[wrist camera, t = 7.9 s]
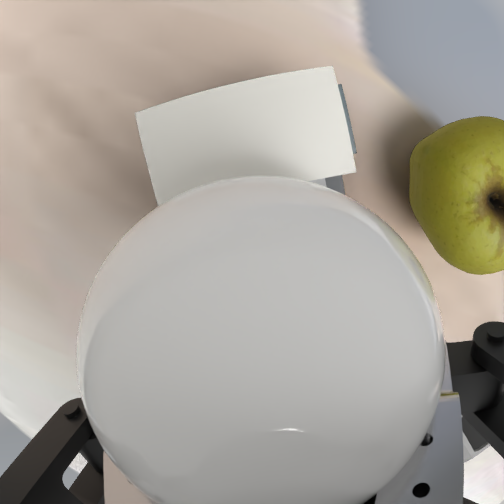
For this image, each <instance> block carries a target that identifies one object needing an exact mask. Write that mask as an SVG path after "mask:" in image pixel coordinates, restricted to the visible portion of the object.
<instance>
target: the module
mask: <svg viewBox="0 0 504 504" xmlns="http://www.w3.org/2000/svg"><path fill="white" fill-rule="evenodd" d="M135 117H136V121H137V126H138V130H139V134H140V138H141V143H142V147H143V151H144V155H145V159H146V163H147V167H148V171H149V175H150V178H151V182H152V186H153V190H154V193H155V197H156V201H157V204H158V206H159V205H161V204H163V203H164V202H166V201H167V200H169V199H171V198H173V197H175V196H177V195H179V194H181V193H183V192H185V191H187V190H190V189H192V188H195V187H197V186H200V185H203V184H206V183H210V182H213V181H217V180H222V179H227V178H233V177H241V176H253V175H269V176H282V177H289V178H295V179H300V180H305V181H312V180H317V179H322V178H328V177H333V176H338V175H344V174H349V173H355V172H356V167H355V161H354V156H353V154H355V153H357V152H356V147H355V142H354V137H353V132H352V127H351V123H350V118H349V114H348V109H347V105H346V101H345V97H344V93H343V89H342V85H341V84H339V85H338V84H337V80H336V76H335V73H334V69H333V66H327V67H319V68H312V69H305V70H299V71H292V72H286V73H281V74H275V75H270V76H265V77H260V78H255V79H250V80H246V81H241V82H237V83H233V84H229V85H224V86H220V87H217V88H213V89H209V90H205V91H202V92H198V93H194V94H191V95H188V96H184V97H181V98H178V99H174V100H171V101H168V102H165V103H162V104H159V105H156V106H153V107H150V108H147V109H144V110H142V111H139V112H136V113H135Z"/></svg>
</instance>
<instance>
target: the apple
mask: <svg viewBox="0 0 504 504" xmlns="http://www.w3.org/2000/svg"><path fill="white" fill-rule="evenodd" d="M409 199H410V204H411V207H412V210H413V212H414V215H415V217H416V219H417V220H418V222H419V224H420V225H421V227H422V229H423V230H424V232H425V234H426V235H427V237H428V239H429V240H430V242H431V243H432V245H433V247H434V248H435V250H436V251H437V252H438V254H439V255H440V256H441V257H442V258H443V259H444V260H445V261H447V262H448V263H449V264H451V265H453V266H454V267H456V268H458V269H460V270H462V271H465V272H467V273H471V274H478V275H483V274H491V273H495V272H499V271H502V270H504V121H503V120H501V119H498V118H493V117H484V116H480V117H473V118H467V119H461V120H458V121H455V122H452V123H449V124H447V125H445V126H443V127H442V128H440V129H438V130H437V131H435V132H434V133H432V134H431V135H429V136H428V137H426V138H424V139H423V140H422V141H420V142H419V143H418V144H417V145H416V146H415V148H414V150H413V152H412V154H411V157H410V187H409Z"/></svg>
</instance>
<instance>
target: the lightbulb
mask: <svg viewBox="0 0 504 504" xmlns="http://www.w3.org/2000/svg"><path fill="white" fill-rule="evenodd" d="M445 355H446V350H445V335H444V328H443V321H442V317H441V312H440V308H439V305H438V302H437V299H436V296H435V293H434V291H433V288H432V286H431V283H430V281H429V279H428V277H427V275H426V273H425V271H424V269H423V268H422V266H421V264H420V263H419V261H418V260H417V258H416V257H415V255H414V254H413V252H412V251H411V250H410V248H409V247H408V246H407V244H406V243H405V242H404V241H403V239H402V238H401V237H400V236H399V235H398V234H397V233H396V232H395V231H394V230H393V229H392V228H391V227H390V226H389V225H388V224H387V223H386V222H385V221H384V220H382V219H381V218H380V217H379V216H378V215H376V214H375V213H374V212H372V211H371V210H370V209H368V208H367V207H365V206H364V205H362V204H360V203H359V202H357V201H355V200H354V199H352V198H350V197H348V196H346V195H344V194H342V193H340V192H337V191H335V190H333V189H330V188H328V187H325V186H322V185H319V184H316V183H312V182H309V181H305V180H300V179H295V178H289V177H282V176H269V175H253V176H241V177H233V178H227V179H222V180H217V181H213V182H210V183H206V184H203V185H200V186H197V187H195V188H192V189H190V190H187V191H185V192H183V193H181V194H179V195H177V196H175V197H173V198H171V199H169V200H167V201H166V202H164V203H163V204H161V205H159V206H158V207H156V208H155V209H153V210H152V211H151V212H149V213H148V214H147V215H145V216H144V217H143V218H142V219H141V220H139V221H138V222H137V223H136V224H135V225H134V226H133V227H132V228H131V229H130V230H129V231H128V232H127V233H126V234H125V235H124V236H123V237H122V238H121V239H120V240H119V242H118V243H117V244H116V245H115V246H114V248H113V249H112V250H111V252H110V253H109V254H108V256H107V257H106V259H105V260H104V262H103V264H102V265H101V267H100V269H99V270H98V272H97V274H96V276H95V278H94V280H93V282H92V284H91V287H90V289H89V291H88V294H87V297H86V300H85V303H84V306H83V309H82V313H81V317H80V322H79V327H78V334H77V345H76V366H77V377H78V384H79V390H80V394H81V399H82V402H83V406H84V409H85V412H86V415H87V418H88V420H89V423H90V425H91V427H92V429H93V432H94V434H95V436H96V438H97V439H98V441H99V443H100V445H101V446H102V448H103V450H104V451H105V453H106V454H107V456H108V457H109V459H110V460H111V461H112V462H113V464H114V465H115V466H116V468H117V469H118V470H119V471H120V472H121V473H122V474H123V476H124V477H125V478H126V479H127V480H128V481H129V482H130V483H131V484H132V485H133V486H135V487H136V488H137V489H138V490H139V491H140V492H141V493H143V494H144V495H145V496H147V497H148V498H149V499H151V500H152V501H153V502H155V503H156V504H364V503H365V502H367V501H368V500H370V499H371V498H372V497H374V496H375V495H376V494H377V492H378V491H379V490H381V489H382V488H383V487H384V486H386V485H387V484H388V483H389V482H390V481H391V480H392V479H393V478H394V477H395V476H396V475H397V474H398V473H399V472H400V471H401V470H402V469H403V468H404V467H405V466H406V464H407V463H408V462H409V461H410V459H411V458H412V457H413V455H414V454H415V452H416V451H417V449H418V448H419V446H420V445H421V443H422V441H423V439H424V437H425V436H426V434H427V432H428V429H429V427H430V425H431V423H432V420H433V418H434V415H435V413H436V410H437V407H438V403H439V400H440V396H441V391H442V386H443V380H444V373H445Z"/></svg>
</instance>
